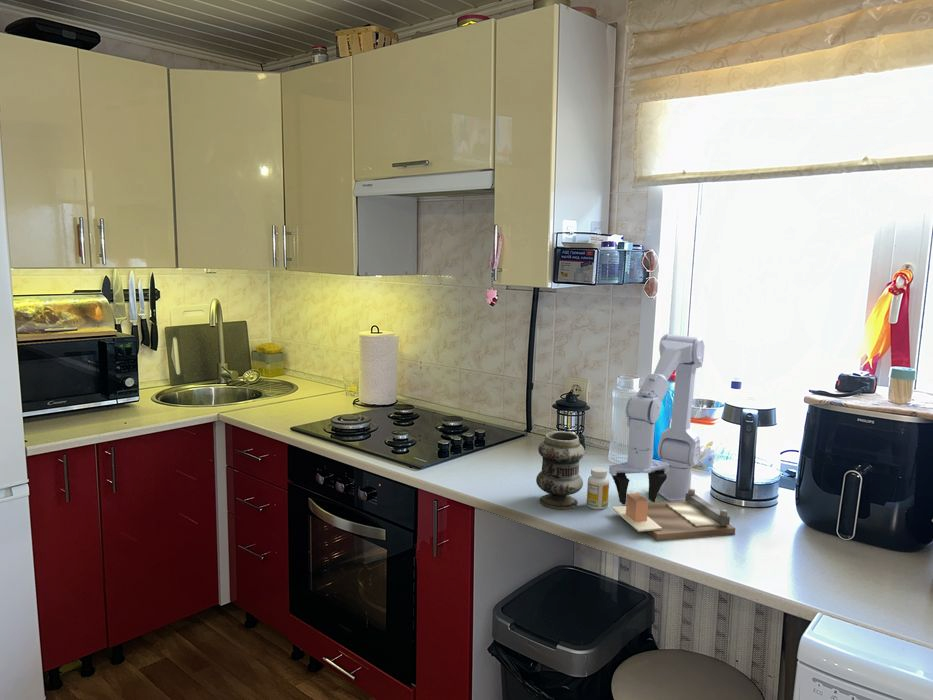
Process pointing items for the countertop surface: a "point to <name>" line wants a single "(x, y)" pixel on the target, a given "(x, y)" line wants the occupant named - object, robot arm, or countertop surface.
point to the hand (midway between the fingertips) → (637, 501)
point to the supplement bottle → (598, 489)
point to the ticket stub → (637, 513)
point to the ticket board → (688, 519)
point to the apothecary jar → (560, 469)
